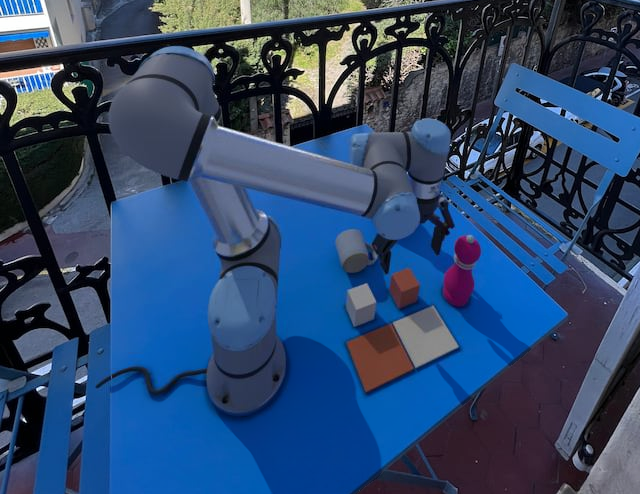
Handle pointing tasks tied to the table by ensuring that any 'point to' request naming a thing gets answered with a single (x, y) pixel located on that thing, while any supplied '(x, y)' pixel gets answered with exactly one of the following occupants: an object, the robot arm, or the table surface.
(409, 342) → the cream mat
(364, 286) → the cream block
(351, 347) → the terracotta mat
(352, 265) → the ceramic mug
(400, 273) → the terracotta block
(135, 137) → the robot arm
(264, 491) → the table surface
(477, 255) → the pepper mill
